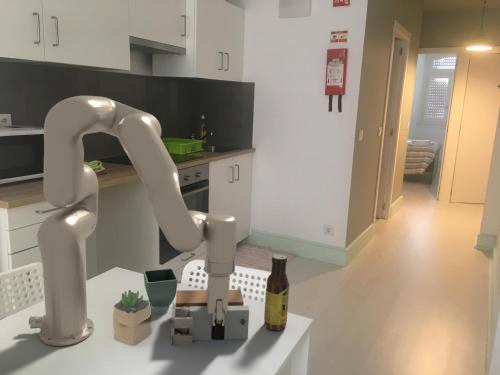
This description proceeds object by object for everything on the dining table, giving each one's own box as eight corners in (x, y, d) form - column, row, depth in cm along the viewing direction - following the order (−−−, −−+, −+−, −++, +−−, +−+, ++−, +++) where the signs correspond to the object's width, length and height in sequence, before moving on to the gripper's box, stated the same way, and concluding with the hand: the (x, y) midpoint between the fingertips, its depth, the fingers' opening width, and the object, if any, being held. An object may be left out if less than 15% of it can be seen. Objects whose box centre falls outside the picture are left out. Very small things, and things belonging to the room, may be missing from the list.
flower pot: (178, 308, 121) (178, 279, 119) (147, 312, 118) (147, 282, 116) (172, 295, 129) (172, 267, 127) (143, 298, 126) (142, 270, 124)
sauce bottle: (285, 333, 111) (289, 262, 107) (261, 329, 112) (265, 260, 108) (287, 321, 117) (292, 254, 113) (265, 317, 118) (269, 251, 114)
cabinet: (175, 327, 111) (175, 303, 109) (176, 313, 118) (176, 290, 117) (242, 325, 113) (243, 302, 112) (239, 312, 121) (240, 289, 119)
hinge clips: (170, 345, 103) (171, 319, 101) (172, 327, 111) (172, 303, 109) (192, 344, 103) (192, 318, 102) (192, 327, 111) (192, 302, 110)
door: (179, 342, 104) (179, 312, 103) (179, 335, 107) (180, 306, 106) (248, 340, 106) (249, 311, 105) (246, 333, 110) (248, 305, 108)
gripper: (204, 251, 110) (202, 313, 114) (204, 279, 93) (201, 350, 97) (233, 252, 111) (230, 313, 114) (237, 279, 94) (234, 350, 98)
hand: (217, 329), depth 106 cm, fingers open, 7 cm apart
